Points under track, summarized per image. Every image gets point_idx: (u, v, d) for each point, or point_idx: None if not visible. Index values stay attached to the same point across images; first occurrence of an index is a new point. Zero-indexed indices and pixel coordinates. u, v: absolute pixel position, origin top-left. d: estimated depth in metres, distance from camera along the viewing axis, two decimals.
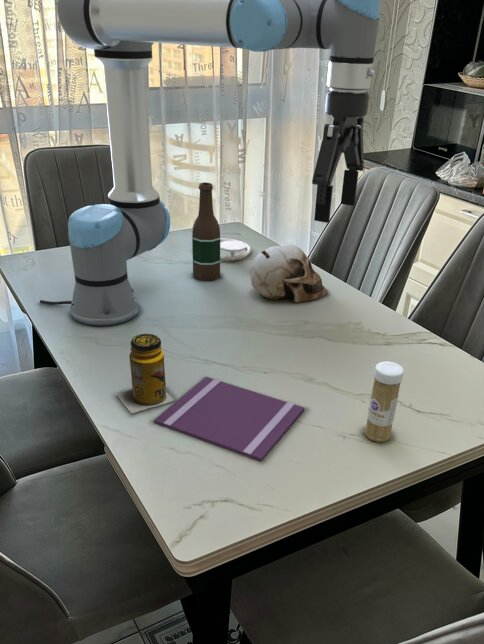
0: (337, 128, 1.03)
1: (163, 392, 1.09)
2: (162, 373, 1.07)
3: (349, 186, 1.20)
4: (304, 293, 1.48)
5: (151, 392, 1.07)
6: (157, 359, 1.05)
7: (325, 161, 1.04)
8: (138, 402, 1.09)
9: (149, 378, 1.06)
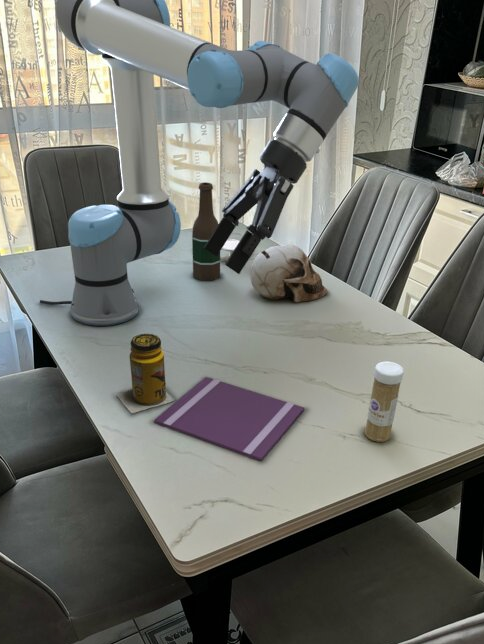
0: None
1: (163, 392, 1.09)
2: (162, 373, 1.07)
3: (222, 235, 1.09)
4: (304, 293, 1.48)
5: (151, 392, 1.07)
6: (157, 359, 1.05)
7: (275, 214, 0.95)
8: (138, 402, 1.09)
9: (149, 378, 1.06)
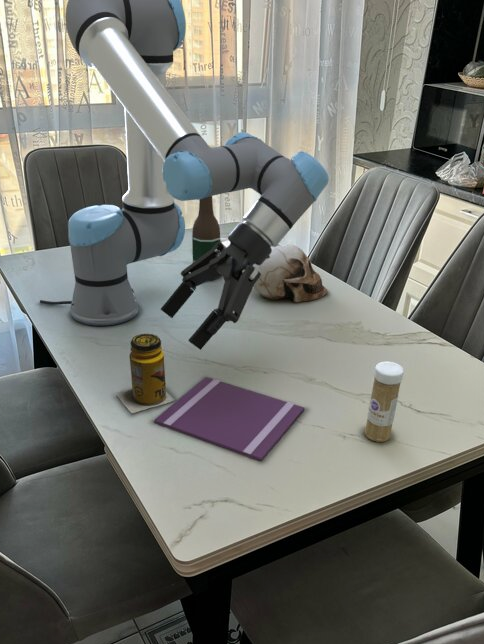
0: (259, 275, 1.01)
1: (163, 392, 1.09)
2: (162, 373, 1.07)
3: (179, 299, 1.11)
4: (304, 293, 1.48)
5: (151, 392, 1.07)
6: (157, 359, 1.05)
7: (242, 300, 0.99)
8: (138, 402, 1.09)
9: (149, 378, 1.06)
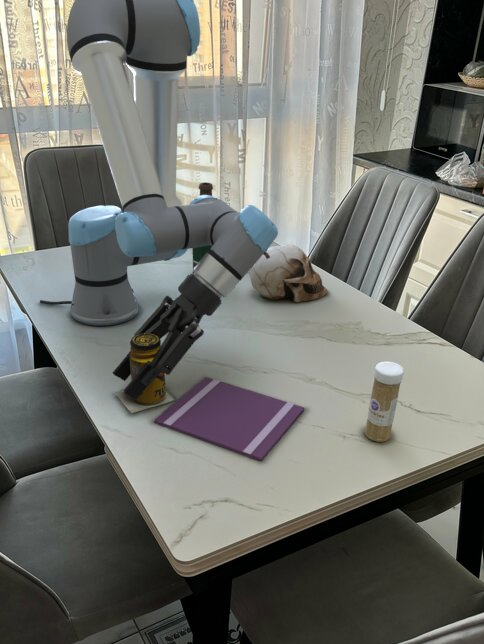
0: (202, 334, 1.02)
1: (163, 392, 1.09)
2: (162, 373, 1.07)
3: None
4: (304, 293, 1.48)
5: (151, 392, 1.07)
6: None
7: (178, 356, 1.02)
8: (138, 402, 1.09)
9: None
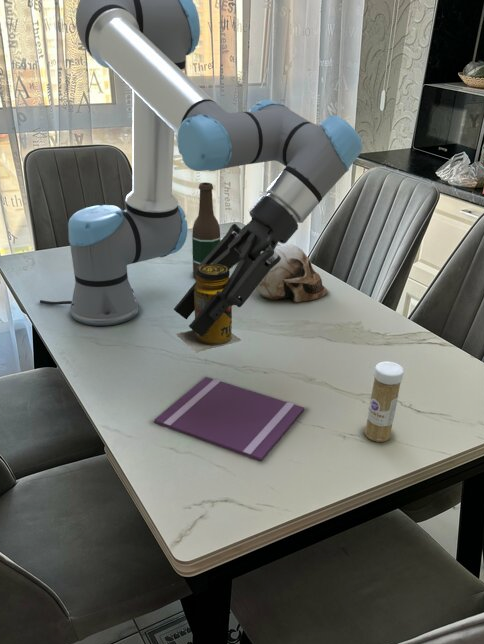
0: (278, 260, 0.91)
1: (229, 331, 0.98)
2: (230, 308, 0.96)
3: None
4: (304, 293, 1.48)
5: (218, 330, 0.96)
6: None
7: (251, 285, 0.91)
8: (202, 342, 0.98)
9: None
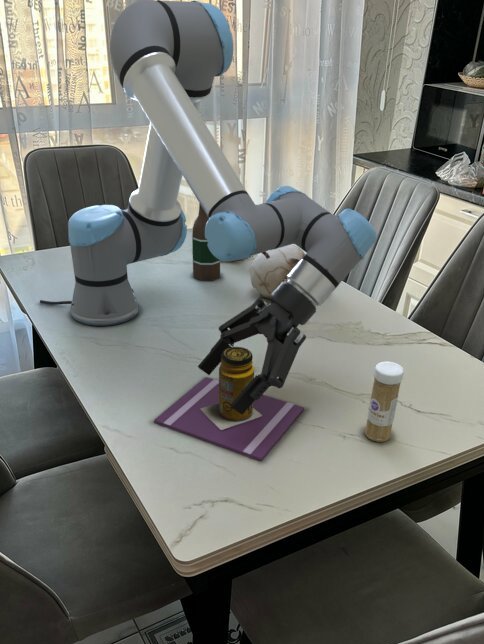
0: (304, 338, 0.97)
1: (251, 407, 1.05)
2: None
3: (217, 356, 1.07)
4: None
5: None
6: (249, 374, 1.00)
7: (287, 365, 0.95)
8: (225, 418, 1.05)
9: None
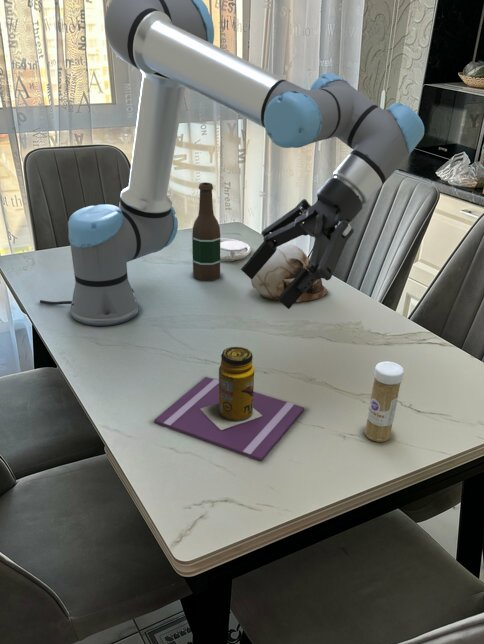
0: (352, 231, 0.97)
1: (251, 407, 1.05)
2: (252, 388, 1.03)
3: (260, 259, 1.07)
4: (304, 293, 1.48)
5: (241, 408, 1.03)
6: (249, 374, 1.00)
7: (335, 257, 0.95)
8: (225, 418, 1.05)
9: (239, 394, 1.01)
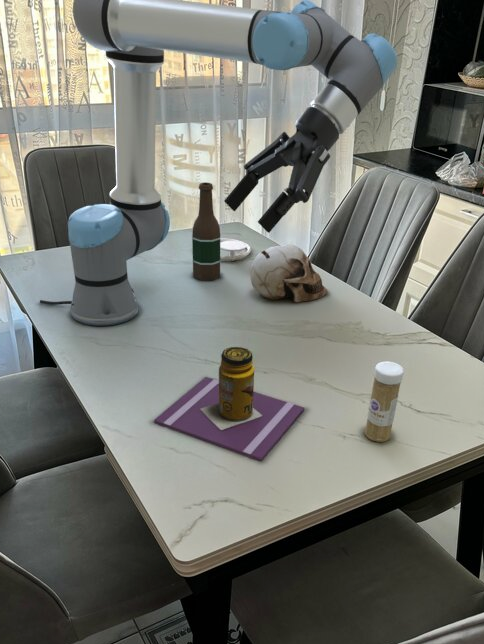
0: None
1: (251, 407, 1.05)
2: (252, 388, 1.03)
3: (243, 191, 1.11)
4: (304, 293, 1.48)
5: (241, 408, 1.03)
6: (249, 374, 1.00)
7: (313, 180, 1.00)
8: (225, 418, 1.05)
9: (239, 394, 1.01)
